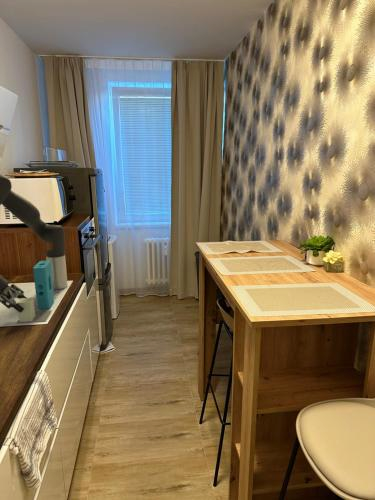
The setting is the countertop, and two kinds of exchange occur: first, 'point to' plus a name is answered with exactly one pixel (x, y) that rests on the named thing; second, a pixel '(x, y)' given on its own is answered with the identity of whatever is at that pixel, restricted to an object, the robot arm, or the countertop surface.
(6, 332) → the countertop surface
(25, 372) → the countertop surface
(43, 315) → the marker mat
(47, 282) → the block
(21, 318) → the sage block
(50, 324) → the countertop surface
